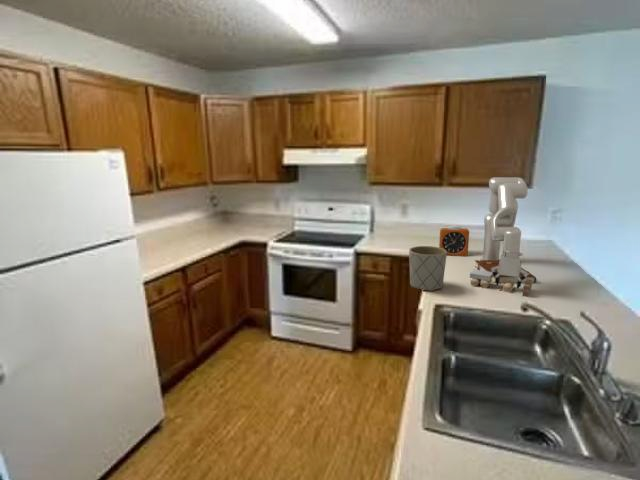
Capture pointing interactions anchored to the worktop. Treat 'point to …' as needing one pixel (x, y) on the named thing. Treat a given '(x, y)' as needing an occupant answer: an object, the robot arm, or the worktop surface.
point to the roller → (508, 286)
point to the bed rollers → (485, 283)
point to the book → (488, 264)
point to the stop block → (527, 288)
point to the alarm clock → (454, 240)
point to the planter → (427, 267)
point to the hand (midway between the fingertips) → (507, 286)
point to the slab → (481, 275)
